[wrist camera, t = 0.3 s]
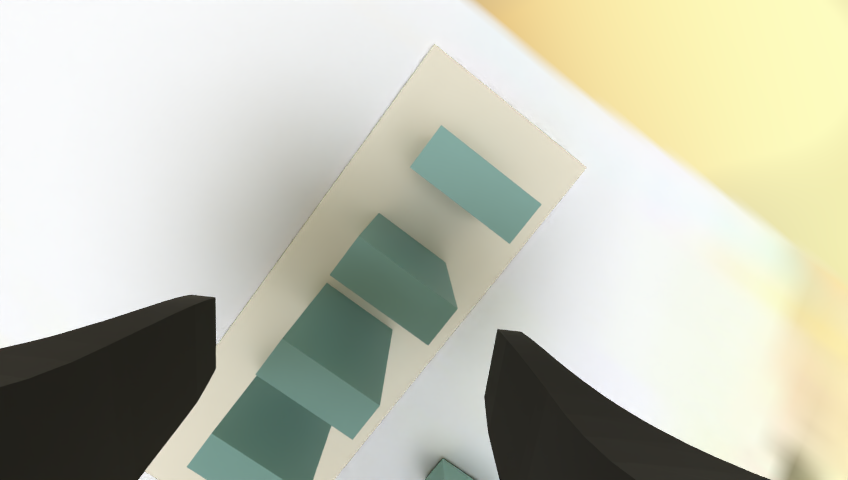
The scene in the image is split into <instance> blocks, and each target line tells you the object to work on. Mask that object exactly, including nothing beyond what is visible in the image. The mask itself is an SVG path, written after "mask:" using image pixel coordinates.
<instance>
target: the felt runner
mask: <svg viewBox="0 0 848 480" xmlns="http://www.w3.org/2000/svg"><path fill="white" fill-rule="evenodd" d="M441 125H442V126H443V127H444V128H446V129H447V130H448V131H449V132H451V133H452V134H453V135H455V136H456V137H457V138H458V139H460V140H461V141H462V142H463V143H465V144H466V145H467V146H469V147H470V148H471V149H472V150H474V151H475V152H476V153H477V154H479V155H480V156H481V157H482V158H484V159H485V160H486V161H488V162H489V163H490V164H491V165H493V166H494V167H495V168H496V169H498V170H499V171H500V172H501V173H503V174H504V175H505V176H507V177H508V178H509V179H510V180H512V181H513V182H514V183H515V184H517V185H518V186H519V187H521V188H522V189H523V190H524V191H526V192H527V193H528V194H529V195H531V196H532V197H533V198H534V199H536V200H537V201H538V202H540V203H541V204H542V205H541V206H540V207H539V208H538V210H537V211H536V212H535V213H534V215H533V216H532V217H531V218H530V220H529V221H528V222H527V223H526V225H525V226H524V227H523V228H522V230H521V231H520V232H519V233H518V234H517V236H516V237H515V238H514V239H513V241H512V242H511V243H510V244H509V243H508V242H506V241H505V240H504V239H502V238H501V237H500V236H499V235H497V234H496V233H495V232H493V231H492V230H491V229H489V228H488V227H487V226H486V225H484V224H483V223H482V222H480V221H479V220H478V219H476V218H475V217H474V216H472V215H471V214H470V213H469V212H467V211H466V210H465V209H463V208H462V207H461V206H459V205H458V204H457V203H456V202H454V201H453V200H452V199H450V198H449V197H448V196H446V195H445V194H444V193H443V192H441V191H440V190H439V189H437V188H436V187H435V186H433V185H432V184H431V183H429V182H428V181H427V180H426V179H424V178H423V177H422V176H420V175H419V174H418V173H416V172H415V171H414V170H413V169H411V168H410V166H411V165H412V164H413V162H414V161H415V160H416V158H417V157H418V156H419V154H420V153H421V152H422V150H423V149H424V147H425V146H426V145H427V143H428V142H429V141H430V139H431V138H432V137H433V135H434V134H435V133H436V131H437V130H438V129H439V127H440V126H441ZM586 168H587V167H585V166H584V165H583V164H582V163H580V162H579V161H578V160H577V159H576V158H574V157H573V156H572V155H571V154H569V153H568V152H567V151H566V150H564V149H563V148H562V147H561V146H560V145H558V144H557V143H556V142H555V141H553V140H552V139H551V138H550V137H548V136H547V135H546V134H545V133H544V132H542V131H541V130H540V129H539V128H537V127H536V126H535V125H534V124H532V123H531V122H530V121H529V120H528V119H526V118H525V117H524V116H523V115H521V114H520V113H519V112H518V111H516V110H515V109H514V108H513V107H512V106H510V105H509V104H508V103H507V102H505V101H504V100H503V99H502V98H500V97H499V96H498V95H497V94H495V93H494V92H493V91H492V90H491V89H489V88H488V87H487V86H486V85H484V84H483V83H482V82H481V81H479V80H478V79H477V78H476V77H475V76H473V75H472V74H471V73H470V72H468V71H467V70H466V69H465V68H463V67H462V66H461V65H460V64H459V63H457V62H456V61H455V60H454V59H452V58H451V57H450V56H449V55H447V54H446V53H445V52H444V51H443V50H441V49H440V48H439V47H438V46H436V45H435V44H434V46H433V47H432V48H431V50H430V51H429V52H428V54H427V55H426V57H425V58H424V59H423V61H422V62H421V64H420V65H419V66H418V68H417V69H416V70H415V72H414V73H413V75H412V76H411V77H410V79H409V80H408V82H407V83H406V84H405V86H404V87H403V88H402V90H401V91H400V93H399V94H398V95H397V97H396V98H395V100H394V101H393V102H392V104H391V105H390V106H389V108H388V109H387V111H386V112H385V113H384V115H383V116H382V118H381V119H380V120H379V122H378V123H377V124H376V126H375V127H374V129H373V130H372V131H371V133H370V134H369V136H368V137H367V138H366V140H365V141H364V142H363V144H362V145H361V147H360V148H359V149H358V151H357V152H356V154H355V155H354V156H353V158H352V159H351V160H350V162H349V163H348V165H347V166H346V167H345V169H344V170H343V172H342V173H341V174H340V176H339V177H338V178H337V180H336V181H335V183H334V184H333V185H332V187H331V188H330V190H329V191H328V192H327V194H326V195H325V196H324V198H323V199H322V201H321V202H320V203H319V205H318V206H317V208H316V209H315V210H314V212H313V213H312V214H311V216H310V217H309V219H308V220H307V221H306V223H305V224H304V226H303V227H302V228H301V230H300V231H299V233H298V234H297V235H296V237H295V238H294V239H293V241H292V242H291V244H290V245H289V246H288V248H287V249H286V251H285V252H284V253H283V255H282V256H281V257H280V259H279V260H278V262H277V263H276V264H275V266H274V267H273V269H272V270H271V271H270V273H269V274H268V275H267V277H266V278H265V280H264V281H263V282H262V284H261V285H260V287H259V288H258V289H257V291H256V292H255V293H254V295H253V296H252V298H251V299H250V300H249V302H248V303H247V305H246V306H245V307H244V309H243V310H242V311H241V313H240V314H239V316H238V317H237V318H236V320H235V321H234V323H233V324H232V325H231V327H230V328H229V329H228V331H227V332H226V334H225V335H224V336H223V338H222V339H221V341H220V342H219V343H218V345H217V346H216V370H215V372H214V373H213V375H212V377H211V379H210V381H209V383H208V385H207V386H206V388H205V390H204V392H203V393H202V395H201V397H200V398H199V400H198V402H197V403H196V405H195V406H194V407H193V409H192V410H191V411H190V413H189V414H188V415H187V417H186V418H185V419H184V421H183V422H182V423H181V425H180V426H179V427H178V429H177V430H176V431H175V433H174V434H173V435H172V436H171V438H170V439H169V440H168V442H167V443H166V444H165V445H164V447H163V448H162V449H161V451H160V452H159V453H158V455H157V456H156V457H155V458H154V460H153V461H152V462H151V464H150V465H149V466H148V468H147V469H146V470H145V472H147V473H148V474H150V475H151V476H153V477H155V478H156V479H158V480H206V479H205V478H203V477H201V476H200V475H198V474H197V473H195V472H194V471H192V470H190V469H189V468H187V466H188V464H189V463H190V462H191V460H192V459H193V457H194V456H195V455H196V453H197V452H198V451H199V449H200V448H201V447H202V445H203V444H204V443H205V441H206V440H207V439H208V437H209V436H210V435H211V433H212V432H213V431H214V429H215V428H216V427H217V426H218V424H219V423H220V422H221V421H222V419H223V418H224V417H225V415H226V414H227V413H228V412H229V410H230V409H231V408H232V406H233V405H234V404H235V403H236V401H237V400H238V399H239V397H240V396H241V395H242V394H243V392H244V391H245V390H246V388H247V387H248V386H249V385H250V383H251V382H252V381H253V379H254V378H255V377H256V376H257V375H255V374H256V373H257V372H258V370H259V369H260V368H261V366H262V365H263V364H264V362H265V361H266V360H267V358H268V357H269V355H270V354H271V353H272V351H273V350H274V349H275V347H276V346H277V345H278V343H279V342H280V341H281V339H282V338H283V337H284V336H285V334H286V333H287V332H288V331H289V329H290V328H291V327H292V326H293V324H294V323H295V322H296V321H297V319H298V318H299V317H300V316H301V314H302V313H303V312H304V311H305V309H306V308H307V307H308V306H309V304H310V303H311V302H312V301H313V299H314V298H315V297H316V296H317V294H318V293H319V292H320V291H321V289H322V288H323V287H324V286H325V284H326V283H328V284H329V285H331V286H332V287H334V288H335V289H336V290H338V291H339V292H341V293H342V294H343V295H345V296H346V297H348V298H349V299H350V300H352V301H353V302H355V303H356V304H357V305H359V306H360V307H362V308H363V309H364V310H366V311H367V312H369V313H370V314H371V315H373V316H374V317H376V318H377V319H378V320H380V321H381V322H383V323H384V324H385V325H387V326H388V327H390V328H391V329H392V330H393V331H392V337H391V343H390V349H389V355H388V361H387V367H386V373H385V379H384V385H383V391H382V397H381V403H380V406H379V407H378V409H377V410H376V411H375V412H374V414H373V415H372V416H371V417H370V419H369V420H368V421H367V422H366V424H365V425H364V426H363V427H362V429H361V430H360V431H359V432H358V434H357V435H356V436H355V437H354V439H353V440H352V439H350V438H349V437H347V436H346V435H344V434H343V433H342V432H340V431H339V430H337V429H336V428H334V427H333V426H331V429H330V432H329V435H328V438H327V440H326V443H325V446H324V449H323V452H322V455H321V458H320V461H319V464H318V467H317V470H316V473H315V476H314V479H313V480H334V479H335V478H336V477H337V476H338V474H339V473H340V472H341V471H342V469H343V468H344V467H345V466H346V465H347V463H348V462H349V461H350V460H351V458H352V457H353V456H354V455H355V453H356V452H357V451H358V450H359V448H360V447H361V446H362V445H363V444H364V442H365V441H366V440H367V439H368V437H369V436H370V435H371V434H372V432H373V431H374V430H375V429H376V427H377V426H378V425H379V424H380V423H381V421H382V420H383V419H384V418H385V416H386V415H387V414H388V413H389V411H390V410H391V409H392V408H393V406H394V405H395V404H396V403H397V402H398V400H399V399H400V398H401V397H402V395H403V394H404V393H405V392H406V390H407V389H408V388H409V387H410V385H411V384H412V383H413V382H414V381H415V379H416V378H417V377H418V376H419V374H420V373H421V372H422V371H423V369H424V368H425V367H426V366H427V364H428V363H429V362H430V361H431V359H432V358H433V357H434V356H435V355H436V353H437V352H438V351H439V350H440V348H441V347H442V346H443V345H444V343H445V342H446V341H447V340H448V338H449V337H450V336H451V335H452V334H453V332H454V331H455V330H456V329H457V327H458V326H459V325H460V324H461V322H462V321H463V320H464V319H465V317H466V316H467V315H468V314H469V313H470V311H471V310H472V309H473V308H474V306H475V305H476V304H477V303H478V301H479V300H480V299H481V298H482V296H483V295H484V294H485V293H486V292H487V290H488V289H489V288H490V287H491V285H492V284H493V283H494V282H495V280H496V279H497V278H498V277H499V275H500V274H501V273H502V272H503V271H504V269H505V268H506V267H507V266H508V264H509V263H510V262H511V261H512V259H513V258H514V257H515V256H516V254H517V253H518V252H519V251H520V250H521V248H522V247H523V246H524V245H525V243H526V242H527V241H528V240H529V238H530V237H531V236H532V235H533V233H534V232H535V231H536V230H537V228H538V227H539V226H540V225H541V224H542V222H543V221H544V220H545V219H546V217H547V216H548V215H549V214H550V212H551V211H552V210H553V209H554V207H555V206H556V205H557V204H558V203H559V201H560V200H561V199H562V198H563V196H564V195H565V194H566V193H567V191H568V190H569V189H570V188H571V186H572V185H573V184H574V183H575V182H576V180H577V179H578V178H579V177H580V175H581V174H582V173H583V172H584V170H585V169H586ZM378 213H380V214H381V215H383V216H384V217H385V218H387V219H388V220H389V221H391V222H392V223H393V224H395V225H396V226H397V227H399V228H400V229H402V230H403V231H404V232H406V233H407V234H408V235H410V236H411V237H412V238H414V239H415V240H416V241H418V242H419V243H420V244H422V245H423V246H424V247H426V248H427V249H428V250H430V251H431V252H432V253H434V254H435V255H436V256H438V257H439V258H440V259H442V260H443V261H444V262H446V266H447V270H448V274H449V277H450V281H451V285H452V289H453V293H454V296H455V300H456V304H457V308H458V309H457V310H456V312H455V313H454V314H453V315H452V317H451V318H450V319H449V320H448V322H447V323H446V324H445V325H444V327H443V328H442V329H441V330H440V332H439V333H438V334H437V335H436V337H435V338H434V339H433V340H432V342H431V343H430V344H429V345H427V344H425V343H424V342H422V341H421V340H420V339H418V338H417V337H415V336H414V335H413V334H411V333H410V332H408V331H407V330H406V329H404V328H403V327H401V326H400V325H399V324H397V323H396V322H394V321H393V320H392V319H390V318H389V317H387V316H386V315H385V314H383V313H382V312H380V311H379V310H378V309H376V308H375V307H373V306H372V305H371V304H369V303H368V302H367V301H365V300H364V299H362V298H361V297H360V296H358V295H357V294H355V293H354V292H353V291H351V290H350V289H348V288H347V287H346V286H344V285H343V284H341V283H340V282H339V281H337V280H336V279H334V278H333V277H332V276H330V274H331V272H332V271H333V270H334V268H335V267H336V266H337V264H338V263H339V262H340V260H341V259H342V258H343V256H344V255H345V254H346V252H347V251H348V249H349V248H350V247H351V245H352V244H353V243H354V241H355V240H356V239H357V237H358V236H359V235H360V234H361V233H362V231H363V230H364V229H365V228H366V227H367V226H368V225H369V224H370V222H371V221H372V220H373V219H374V218H375V217H376V216H377V214H378Z"/></svg>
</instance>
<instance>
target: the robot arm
mask: <svg viewBox="0 0 848 480" xmlns="http://www.w3.org/2000/svg"><path fill="white" fill-rule="evenodd" d="M215 370H216V304H215V297H206V296H197V295H187V296H182V297H178V298H174V299H171V300H167V301H164V302H161V303H158V304H155V305H152V306H148V307H145V308H142V309H139V310H136V311H133V312H130V313H127V314H124V315H121V316H118V317H115V318H112V319H109V320H105V321H102V322H99V323H95V324H92V325H89V326H85V327H82V328H79V329H75V330H72V331H68V332H65V333H62V334H58V335H55V336H51V337H47V338H43V339H39V340H35V341H31V342H27V343H23V344H18V345H14V346H9V347H5V348H1V349H0V480H138V479H139V478H140V477H141V475H142V474H143V473H144V471H145V470H146V469H147V468H148V466H149V465H150V464H151V462H152V461H153V460H154V458H155V457H156V456H157V455H158V453H159V452H160V451H161V449H162V448H163V447H164V445H165V444H166V443H167V442H168V440H169V439H170V438H171V436H172V435H173V434H174V433H175V431H176V430H177V429H178V427H179V426H180V425H181V423H182V422H183V421H184V419H185V418H186V417H187V415H188V414H189V413H190V411H191V410H192V409H193V407H194V406H195V405H196V403H197V402H198V400H199V398H200V397H201V395H202V393H203V392H204V390H205V388H206V386H207V385H208V383H209V381H210V379H211V377H212V375H213V373H214V372H215ZM484 398H485V408H486V418H487V426H488V434H489V438H490V442H491V446H492V450H493V455H494V459H495V463H496V467H497V471H498V475H499V479H500V480H770V479H767V478H765V477H762V476H759V475H757V474H754V473H752V472H749V471H747V470H745V469H742V468H740V467H738V466H735V465H733V464H731V463H728V462H726V461H723V460H721V459H719V458H716V457H714V456H712V455H710V454H708V453H706V452H703V451H701V450H699V449H697V448H695V447H693V446H690V445H688V444H686V443H685V442H683V441H681V440H679V439H677V438H675V437H673V436H671V435H669V434H667V433H665V432H663V431H661V430H659V429H657V428H656V427H654V426H652V425H650V424H648V423H647V422H645V421H643V420H641V419H640V418H638V417H636V416H635V415H633V414H631V413H630V412H628V411H627V410H625V409H623V408H622V407H620V406H618V405H617V404H615V403H614V402H612V401H611V400H609V399H608V398H606V397H605V396H603V395H602V394H600V393H599V392H598V391H596V390H595V389H593V388H592V387H591V386H589V385H588V384H586V383H585V382H584V381H582V380H581V379H580V378H578V377H577V376H576V375H575V374H573V373H572V372H571V371H569V370H568V369H567V368H566V367H564V366H563V365H562V364H561V363H560V362H558V361H557V360H556V359H555V358H553V357H552V356H551V355H550V354H549V353H547V352H546V351H545V350H544V349H543V348H541V347H540V346H539V345H538V344H537V343H535V342H534V341H533V340H532V339H530V338H529V337H528V336H526V335H525V334H523V333H522V332H518V331H509V330H500V329H497V334H496V339H495V345H494V350H493V355H492V360H491V366H490V371H489V376H488V381H487V386H486V392H485V397H484Z"/></svg>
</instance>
